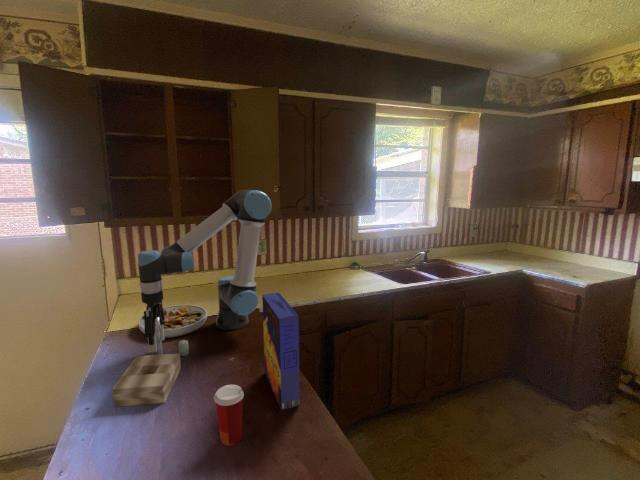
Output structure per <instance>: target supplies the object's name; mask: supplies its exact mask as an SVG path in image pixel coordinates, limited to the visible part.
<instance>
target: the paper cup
mask: <svg viewBox="0 0 640 480" xmlns="http://www.w3.org/2000/svg"><path fill="white" fill-rule="evenodd" d="M244 393H245V392H244V391H243V388H241V386H239V385H237V384H226V385H223V386H221V387H219V388H218V389H217V390H216V392H215V394H214V396H213V401H214V402H215V408H216V414H217V415H216V416H217V421H218V430H219V438H220V443H221V444H222V445H224V446H226V447H227V446H229V447H230V446H234V445H237V444H238V443H239V442H240V441H241V439H242V438H243V437H242V435H243V412H244V411H243V409H244V407H243V406H244V405H243V404H244V402H243V401H244V396H245V394H244Z"/></svg>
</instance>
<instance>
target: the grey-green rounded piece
mask: <svg viewBox="0 0 640 480" xmlns="http://www.w3.org/2000/svg"><path fill="white" fill-rule="evenodd" d="M177 344H178V353H180V357H185V356H188V355H189V354H190V352H189V351H190V349H189V340H186V339H182V340H180V341H178V343H177Z"/></svg>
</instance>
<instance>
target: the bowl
mask: <svg viewBox="0 0 640 480" xmlns="http://www.w3.org/2000/svg"><path fill="white" fill-rule="evenodd" d="M163 312H164V318H165V320H164V321H165V324H162V325H163V329H164V339H167V338H168V339H169V338H175V337H177V338H178V337H181V336H184V335H188V334H190V333H193V332H195V331H197V330H198V329H200V328H202V327H203V325H204V324H205V323H206V321H207V319H208V311H207V309H205V308H204V307H202V306H198V305H195V304H194V305H193V304H178V305H170V306H165V307H164V306H163ZM152 316H154V315H152ZM138 328H139V330H140V332H141V333H143V334H144V335H145V321H144V315H143V316H141V317H140V318H139V320H138Z"/></svg>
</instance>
